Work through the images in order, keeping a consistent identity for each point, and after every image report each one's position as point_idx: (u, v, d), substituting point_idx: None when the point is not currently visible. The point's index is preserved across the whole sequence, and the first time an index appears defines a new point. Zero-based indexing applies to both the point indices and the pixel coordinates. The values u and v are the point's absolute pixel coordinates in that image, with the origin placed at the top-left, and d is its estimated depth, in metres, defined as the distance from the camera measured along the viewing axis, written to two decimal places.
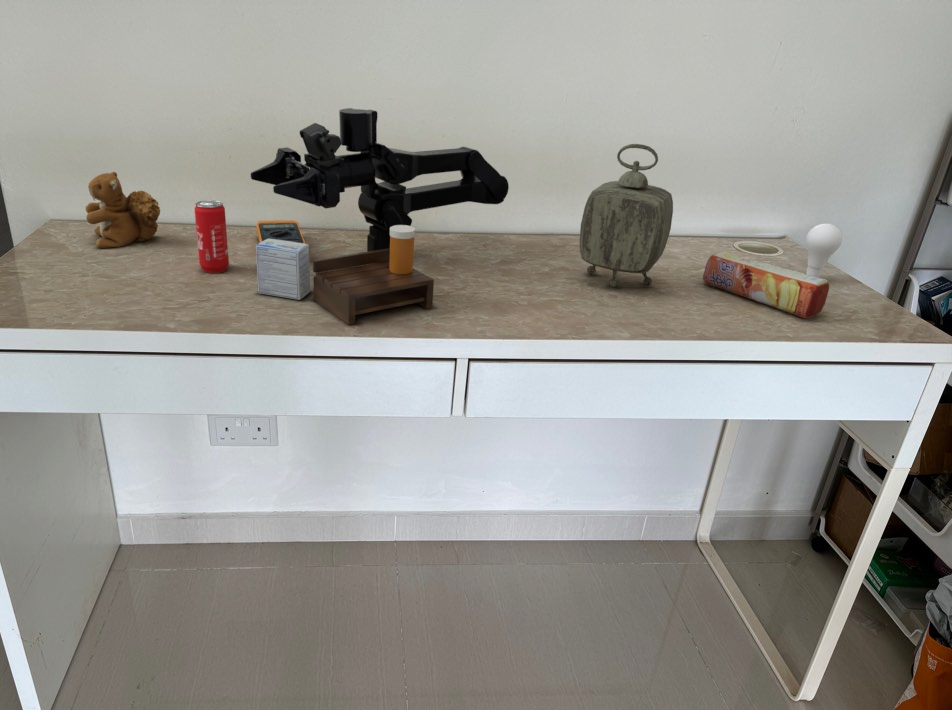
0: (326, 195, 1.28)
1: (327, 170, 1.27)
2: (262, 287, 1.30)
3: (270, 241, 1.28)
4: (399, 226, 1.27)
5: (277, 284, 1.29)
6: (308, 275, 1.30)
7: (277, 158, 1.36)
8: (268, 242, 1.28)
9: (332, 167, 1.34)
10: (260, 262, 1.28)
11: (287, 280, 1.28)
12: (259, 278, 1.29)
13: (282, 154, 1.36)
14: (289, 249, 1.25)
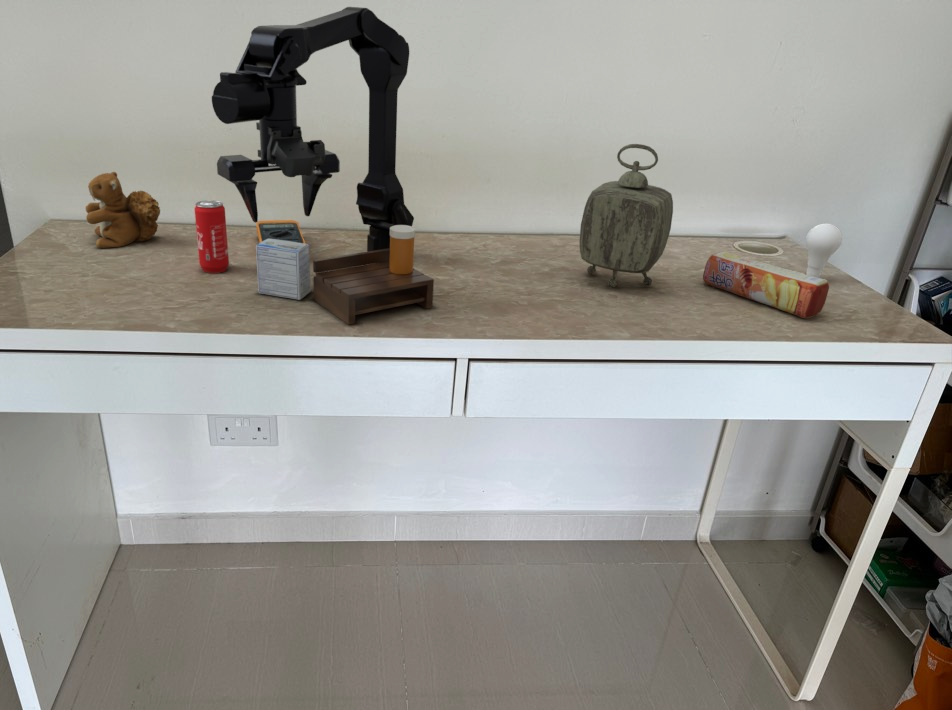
0: None
1: (335, 167, 1.23)
2: (262, 287, 1.30)
3: (270, 241, 1.28)
4: (399, 226, 1.27)
5: (277, 284, 1.29)
6: (308, 275, 1.30)
7: (249, 188, 1.18)
8: (268, 241, 1.28)
9: None
10: (260, 262, 1.28)
11: (287, 280, 1.28)
12: (259, 278, 1.29)
13: (254, 184, 1.17)
14: (289, 249, 1.25)
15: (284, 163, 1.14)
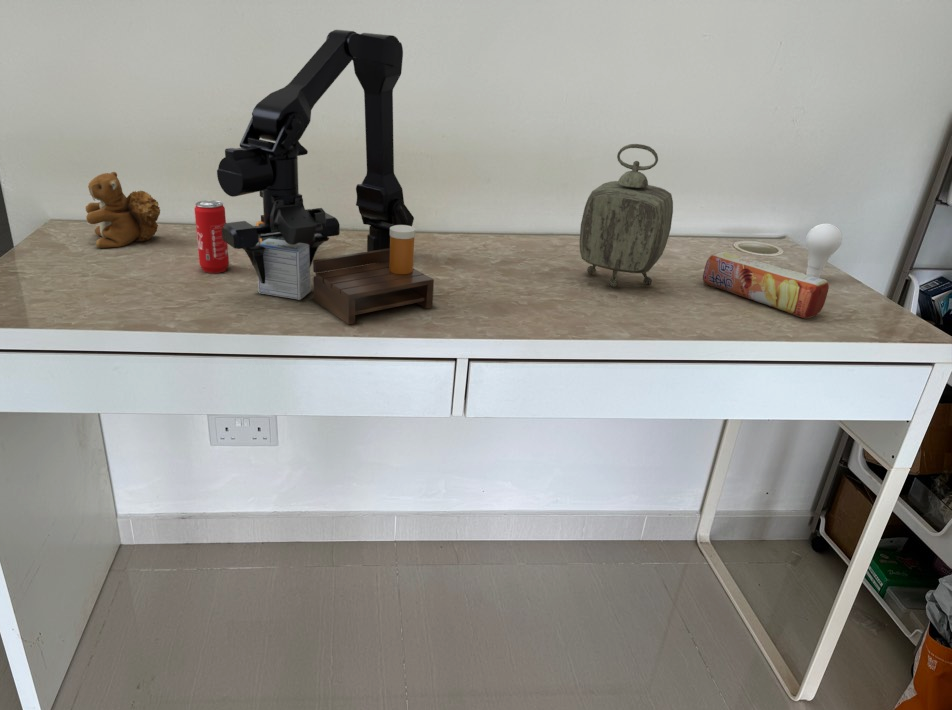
0: None
1: (335, 230, 1.28)
2: (262, 287, 1.30)
3: (270, 241, 1.28)
4: (399, 226, 1.27)
5: (277, 284, 1.29)
6: (308, 275, 1.30)
7: (257, 253, 1.23)
8: (268, 241, 1.28)
9: None
10: None
11: (287, 280, 1.28)
12: None
13: (262, 249, 1.23)
14: (289, 249, 1.25)
15: (286, 232, 1.19)
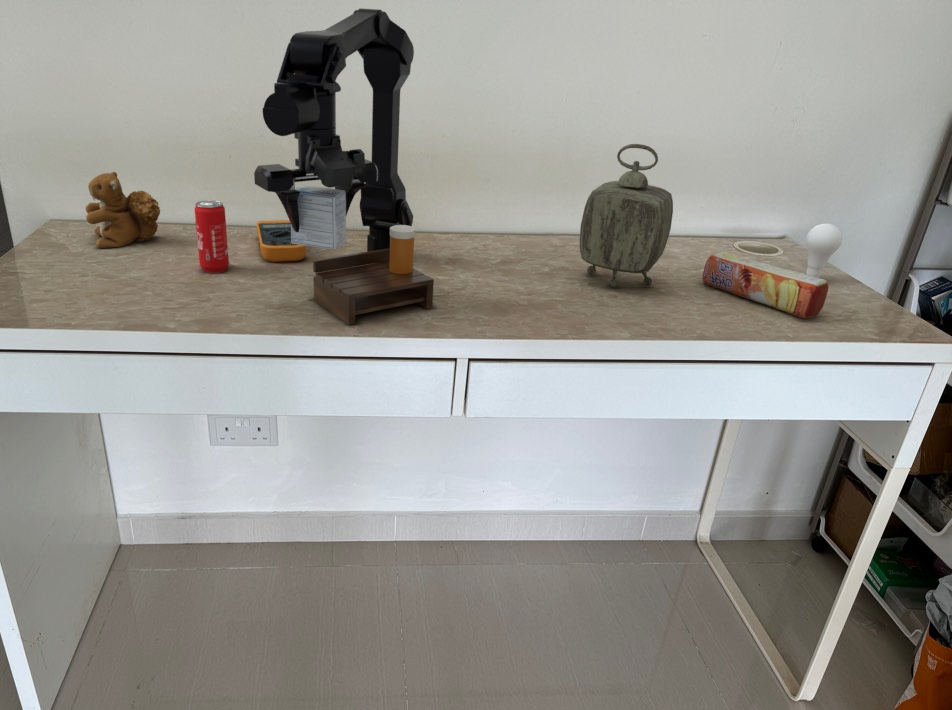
0: None
1: (373, 176, 1.21)
2: (295, 237, 1.23)
3: (304, 187, 1.21)
4: (399, 226, 1.27)
5: (312, 233, 1.21)
6: (344, 225, 1.23)
7: (291, 198, 1.16)
8: (302, 188, 1.21)
9: None
10: None
11: (322, 228, 1.20)
12: (292, 227, 1.22)
13: (296, 194, 1.15)
14: (325, 195, 1.18)
15: (324, 173, 1.12)
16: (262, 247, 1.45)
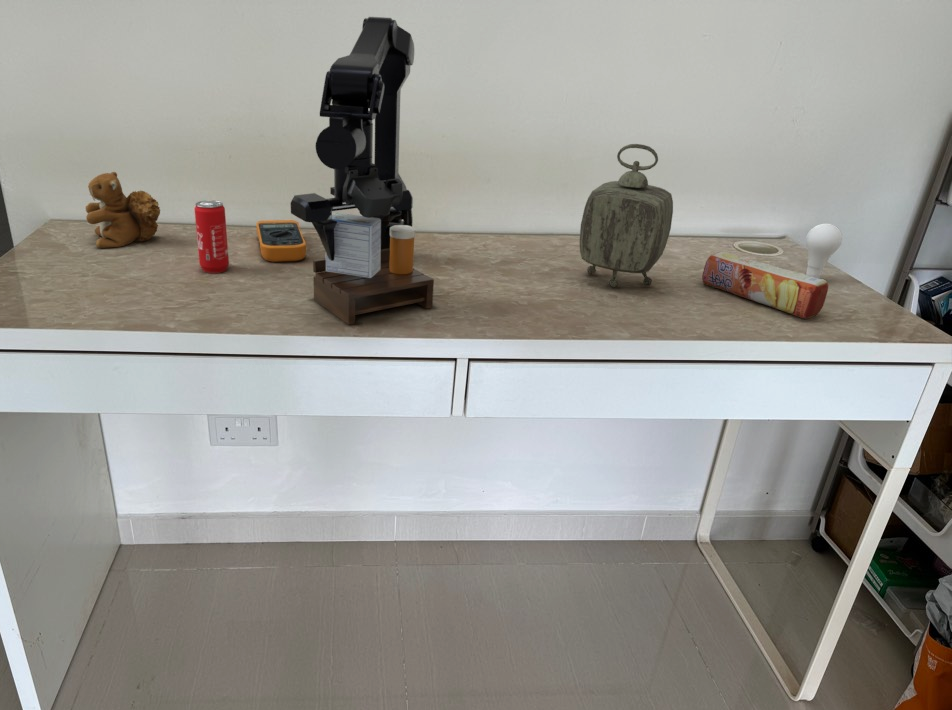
0: None
1: (408, 204, 1.20)
2: (330, 265, 1.22)
3: (339, 215, 1.21)
4: (399, 226, 1.27)
5: (347, 261, 1.21)
6: (379, 252, 1.22)
7: (328, 227, 1.15)
8: (337, 216, 1.20)
9: None
10: None
11: (357, 257, 1.20)
12: None
13: (334, 223, 1.15)
14: (361, 224, 1.17)
15: (362, 204, 1.11)
16: (262, 247, 1.45)
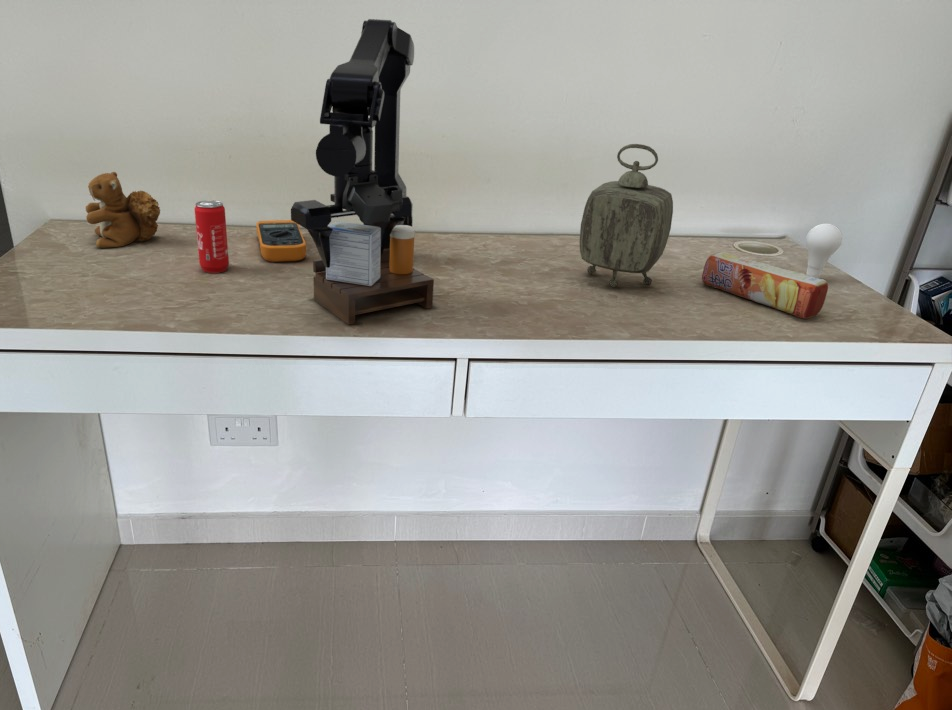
0: None
1: (408, 211, 1.21)
2: (330, 273, 1.23)
3: (339, 224, 1.21)
4: (399, 226, 1.27)
5: (347, 269, 1.22)
6: (379, 261, 1.23)
7: (324, 234, 1.15)
8: (337, 224, 1.21)
9: None
10: None
11: (357, 265, 1.21)
12: None
13: (329, 230, 1.15)
14: (361, 232, 1.18)
15: (362, 210, 1.12)
16: (262, 247, 1.45)
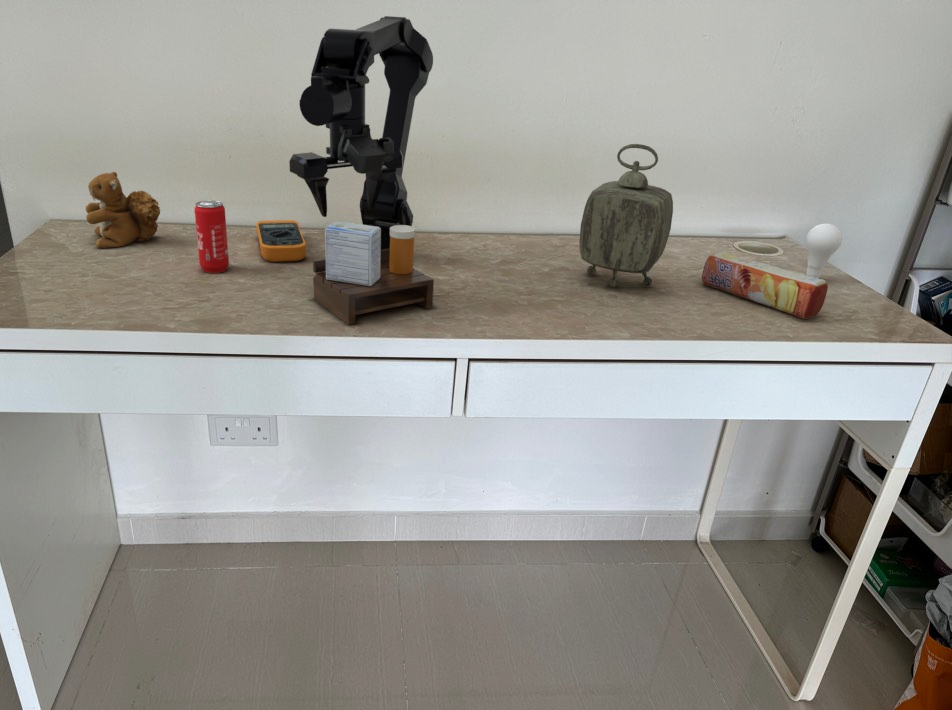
0: None
1: (399, 162, 1.29)
2: (330, 273, 1.23)
3: (339, 224, 1.21)
4: (399, 226, 1.27)
5: (347, 269, 1.22)
6: (379, 261, 1.23)
7: (320, 184, 1.23)
8: (337, 224, 1.21)
9: None
10: (329, 246, 1.21)
11: (357, 265, 1.21)
12: (327, 263, 1.22)
13: (326, 180, 1.23)
14: (361, 232, 1.18)
15: (356, 160, 1.20)
16: (262, 247, 1.45)
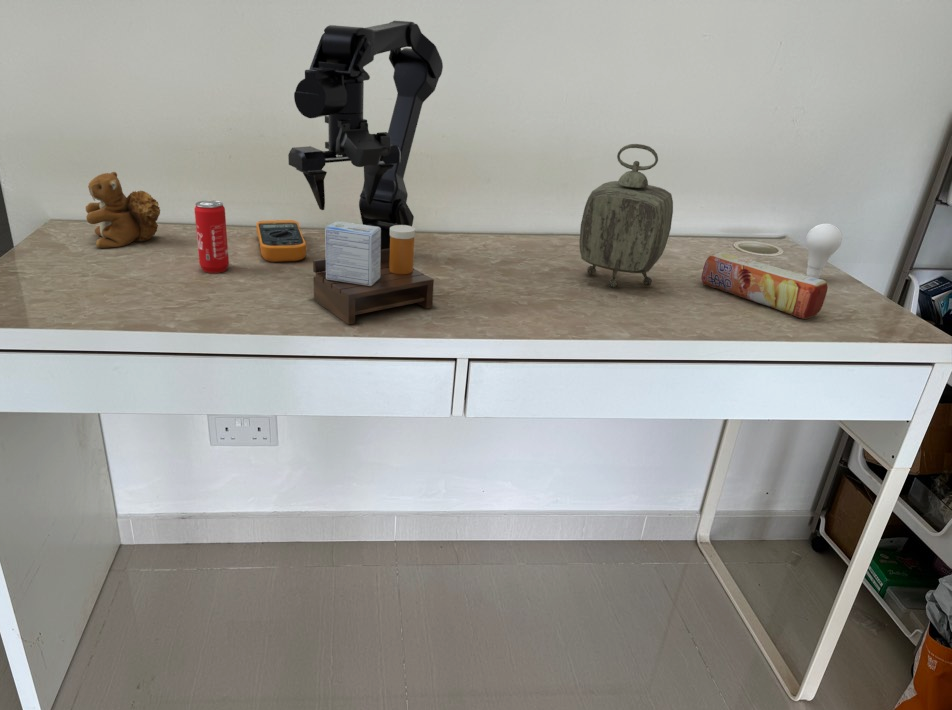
0: None
1: (396, 158, 1.31)
2: (330, 273, 1.23)
3: (339, 224, 1.21)
4: (399, 226, 1.27)
5: (347, 269, 1.22)
6: (379, 261, 1.23)
7: (318, 177, 1.26)
8: (337, 224, 1.21)
9: None
10: (329, 246, 1.21)
11: (357, 265, 1.21)
12: (327, 263, 1.22)
13: (323, 174, 1.25)
14: (361, 232, 1.18)
15: (354, 154, 1.22)
16: (262, 247, 1.45)
